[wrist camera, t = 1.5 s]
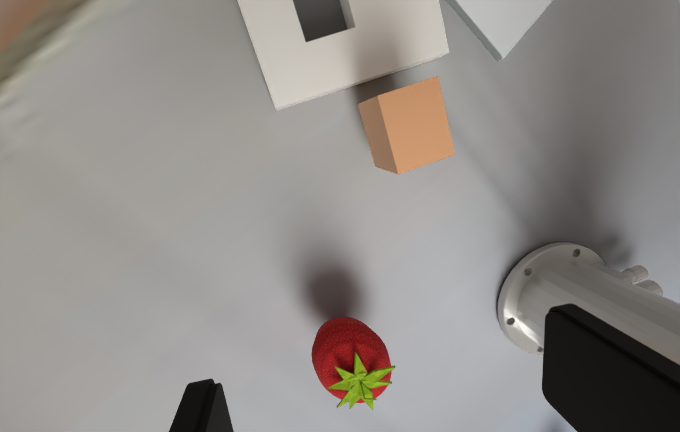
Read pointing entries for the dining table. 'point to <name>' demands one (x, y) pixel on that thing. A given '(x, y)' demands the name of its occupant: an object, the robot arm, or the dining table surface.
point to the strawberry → (351, 361)
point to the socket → (339, 42)
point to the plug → (407, 127)
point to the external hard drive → (499, 21)
